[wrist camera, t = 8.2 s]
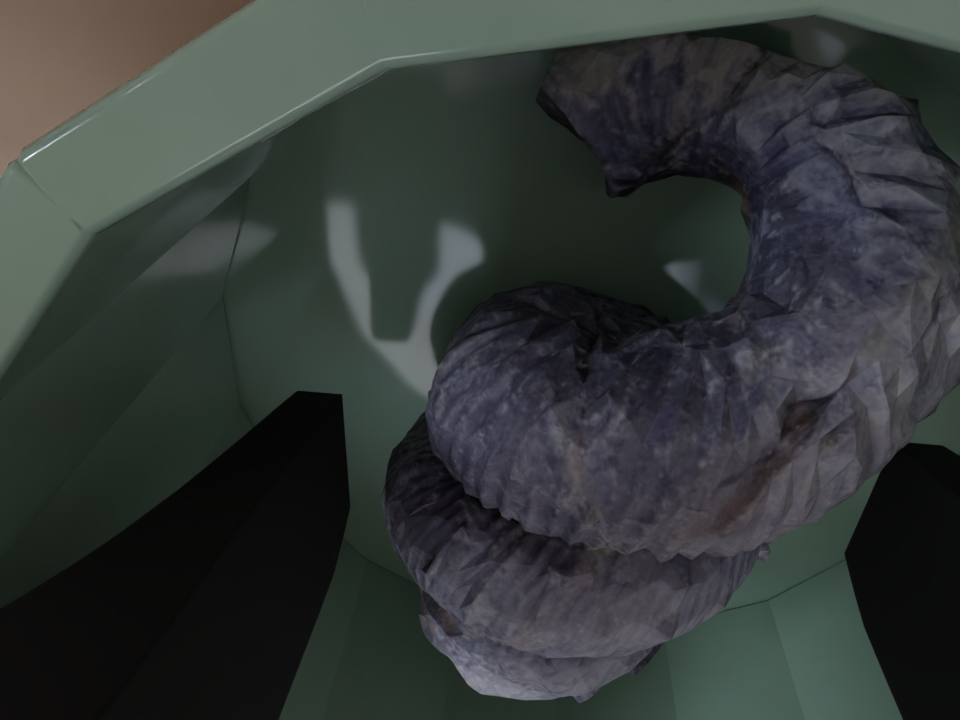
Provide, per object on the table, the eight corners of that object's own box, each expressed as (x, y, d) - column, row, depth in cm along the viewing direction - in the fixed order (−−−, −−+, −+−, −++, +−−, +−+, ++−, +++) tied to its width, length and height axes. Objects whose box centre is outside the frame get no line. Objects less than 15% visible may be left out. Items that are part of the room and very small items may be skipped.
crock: (255, 597, 16) (103, 950, 11) (121, -136, 9) (-557, -202, 3) (867, 659, 15) (1038, 1070, 10) (1256, -82, 8) (2619, -53, 3)
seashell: (698, -11, 10) (502, 499, 15) (403, -60, 6) (286, 637, 12) (1147, 151, 7) (718, 690, 13) (1112, 236, 4) (531, 941, 9)
